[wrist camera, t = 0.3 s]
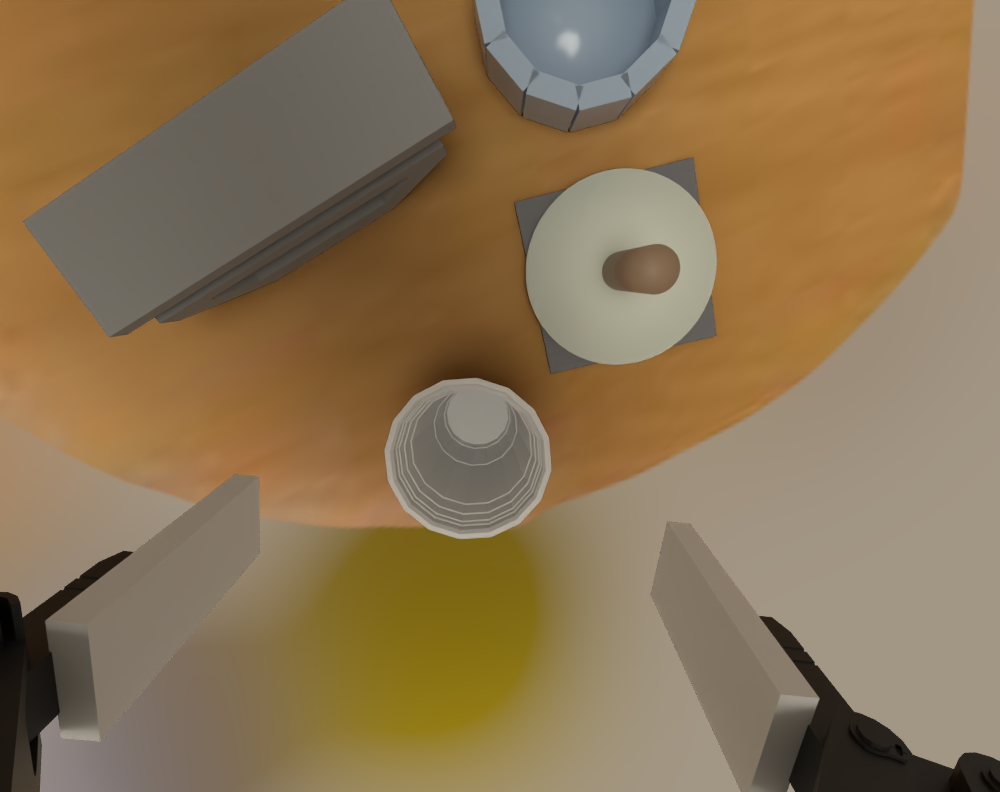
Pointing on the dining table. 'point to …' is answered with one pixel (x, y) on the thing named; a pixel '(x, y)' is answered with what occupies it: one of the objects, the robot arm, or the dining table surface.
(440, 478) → the plastic cup
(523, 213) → the mat
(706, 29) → the dining table surface
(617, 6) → the bowl
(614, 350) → the lid
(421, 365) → the dining table surface
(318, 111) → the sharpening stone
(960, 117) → the dining table surface
